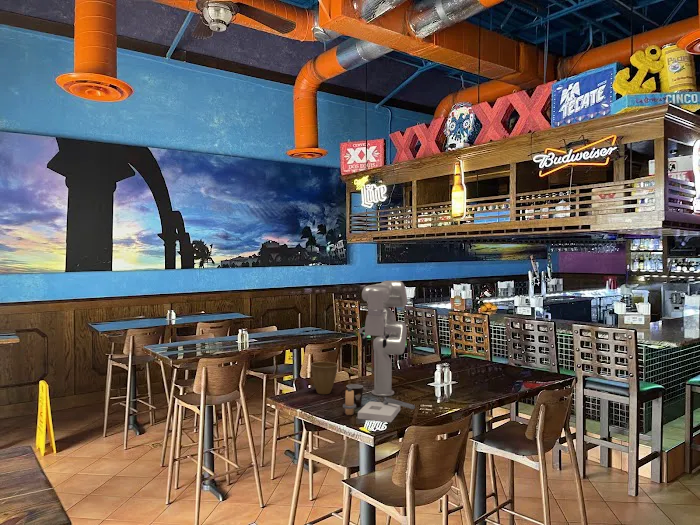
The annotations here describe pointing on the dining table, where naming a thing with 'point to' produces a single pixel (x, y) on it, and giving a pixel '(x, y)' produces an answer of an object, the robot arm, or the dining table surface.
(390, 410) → the socket board
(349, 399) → the plug
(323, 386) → the plant pot
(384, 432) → the dining table surface
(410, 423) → the dining table surface
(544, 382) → the dining table surface
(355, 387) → the coffee mug
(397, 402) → the clip
